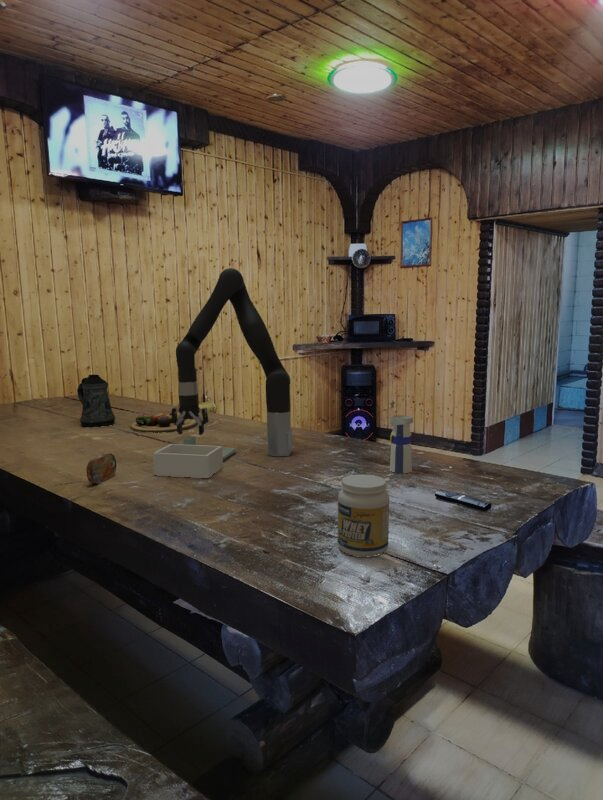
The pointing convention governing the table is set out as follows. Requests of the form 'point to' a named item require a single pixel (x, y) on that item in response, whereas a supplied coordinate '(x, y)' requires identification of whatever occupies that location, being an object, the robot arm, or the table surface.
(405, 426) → the water bottle
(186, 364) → the robot arm
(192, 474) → the parts tub
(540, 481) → the table surface
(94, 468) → the tin
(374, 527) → the supplement tub
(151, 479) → the table surface
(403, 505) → the table surface
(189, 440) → the lid
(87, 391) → the beer stein
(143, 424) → the wooden plate with food
